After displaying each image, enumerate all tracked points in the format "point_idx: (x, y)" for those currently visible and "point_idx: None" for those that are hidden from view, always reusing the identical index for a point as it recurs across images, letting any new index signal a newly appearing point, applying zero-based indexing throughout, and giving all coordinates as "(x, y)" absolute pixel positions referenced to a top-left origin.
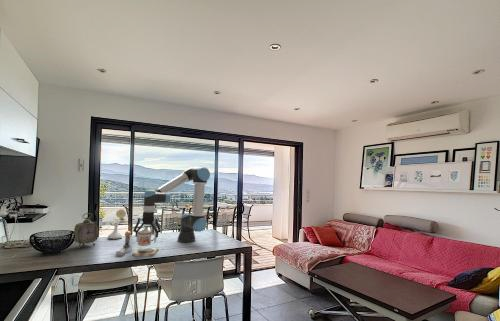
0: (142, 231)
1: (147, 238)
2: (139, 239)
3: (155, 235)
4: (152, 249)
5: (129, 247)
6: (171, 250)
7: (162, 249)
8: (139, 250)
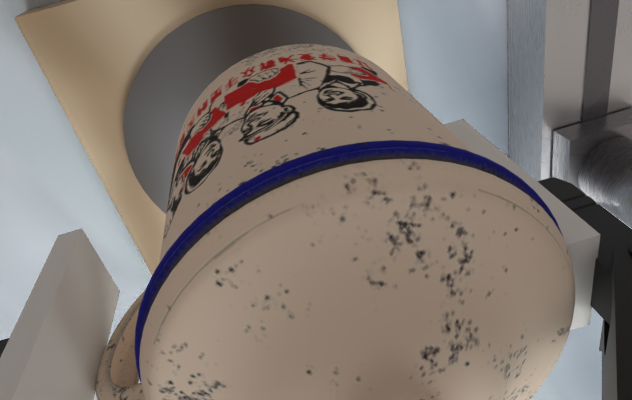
0: (426, 281)
1: (184, 180)
2: (392, 92)
3: (3, 361)
4: None
5: (541, 126)
6: None
7: None
8: None
